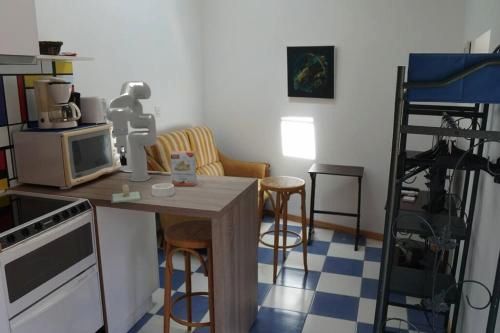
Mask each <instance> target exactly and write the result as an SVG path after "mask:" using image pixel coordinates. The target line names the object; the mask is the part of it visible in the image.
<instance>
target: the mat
mask: <svg viewBox="0 0 500 333" xmlns="http://www.w3.org/2000/svg"><path fill="white" fill-rule="evenodd" d="M139 195H140V198H141V200H140V201H143V197H142V193H141V192H139ZM110 200H111V201H110V202H111V204H114V203H113V195H110ZM134 201H136V200H134ZM125 202H127V201H125ZM125 202H124V203H125ZM116 203H118V202H116Z"/></svg>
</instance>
